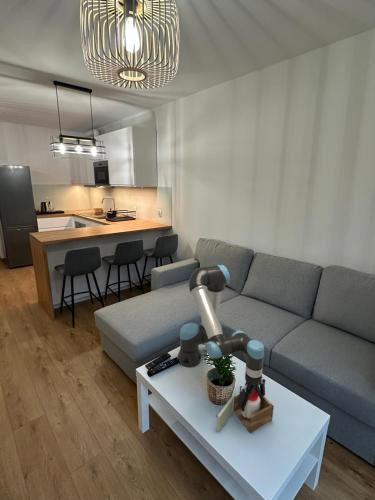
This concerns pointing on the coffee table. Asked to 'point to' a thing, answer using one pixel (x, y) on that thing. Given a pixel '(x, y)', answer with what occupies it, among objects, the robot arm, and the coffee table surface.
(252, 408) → the pill bottle
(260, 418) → the box
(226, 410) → the door
